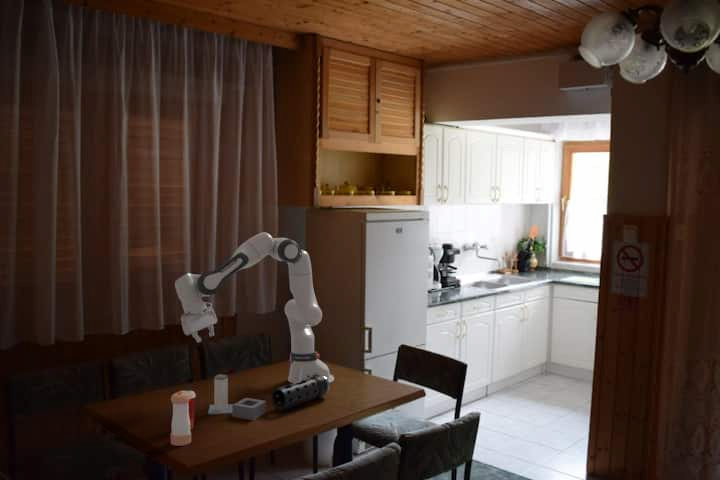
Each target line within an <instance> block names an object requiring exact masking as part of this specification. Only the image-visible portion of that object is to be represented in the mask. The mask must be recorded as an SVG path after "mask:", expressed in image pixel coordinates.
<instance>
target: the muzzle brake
mask: <svg viewBox="0 0 720 480" xmlns="http://www.w3.org/2000/svg"><path fill="white" fill-rule="evenodd" d="M330 385H331V383H329V381H328V379H327V378H326V377H325V376H323V375H316V376H313V377H310V378H309V379H305V380H302V381H299V382H296V383H289V384H287V385H284V386H281V387H278V388H275V389H273V390H272V392H271V395H270V401H271V404H272V405H273V407H274V408H275V409H277V411H278V412H283V411H286V410H289V409H291V408H294V407H296V406H300V405H301V404H303V403H305V402H312V401H315V399H317V398H321V397H323V396H325V395H327V393H328V392H329V391H330Z"/></svg>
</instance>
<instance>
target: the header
mask: <svg viewBox="0 0 720 480" xmlns="http://www.w3.org/2000/svg"><path fill="white" fill-rule="evenodd" d="M266 413H267V400H261V399H256V398H249V397H244V398H243V399H240V400H239V401H237V402H235V403H233V405H232V414H231V415H232V418H238V419H243V420H249V421H255V420H256V419H258V418H260V417H262V416H263V415H265V414H266Z"/></svg>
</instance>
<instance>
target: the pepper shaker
mask: <svg viewBox="0 0 720 480" xmlns="http://www.w3.org/2000/svg"><path fill="white" fill-rule="evenodd" d="M182 391H183V390H179V391H178V392H175V393H173V394H172V395H171V397H170V401H171V403H172V419H171V424H170V425H171V432H170V444H171V445H172V446H176V447H177V446H179V447H181V446H186V445H189V444H190V443H191V442H192V432H191V430H190V419H189V412H188V402H189V401H190V398H191V397H190V395H189V394H188V393H185V392H182Z"/></svg>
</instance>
